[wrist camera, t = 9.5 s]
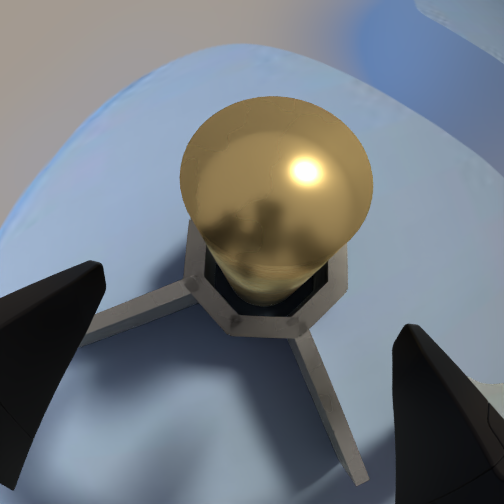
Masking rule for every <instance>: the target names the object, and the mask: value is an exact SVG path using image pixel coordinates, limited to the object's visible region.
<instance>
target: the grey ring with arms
mask: <svg viewBox="0 0 504 504" xmlns="http://www.w3.org/2000/svg"><path fill="white" fill-rule="evenodd" d="M190 219H191V218H190ZM215 272H216V260H215V258H214V257H213V255H212V253H211V252H210V250H209V248H208V246H207V245H206V243H205V241H204V240H203V238H202V236H201V234H200V233H199V231H198V229H197V227H196V226H195V224H194V222H193V220H192V219H191V220H189V226H188V235H187V245H186V255H185V266H184V277H183V279H182V280H179V281H177V282H174V283H172V284H169V285H167V286H164V287H162V288H159V289H157V290H155V291H152V292H150V293H147V294H145V295H142V296H140V297H137V298H135V299H132V300H130V301H127V302H125V303H122V304H120V305H117V306H115V307H112V308H110V309H107V310H105V311H102V312H100V313H97V314H95V315H94V317H93V320H92V322H91V324H90V326H89V328H88V330H87V332H86V334H85V336H84V338H83V340H82V342H81V343H80V345H79V347H82V346H85V345H88V344H91V343H94V342H96V341H99V340H102V339H105V338H107V337H110V336H113V335H115V334H118V333H121V332H124V331H126V330H129V329H132V328H134V327H137V326H140V325H142V324H145V323H148V322H150V321H153V320H156V319H158V318H161V317H163V316H166V315H169V314H171V313H174V312H176V311H179V310H182V309H184V308H187V307H189V306H192V305H194V304H197V303H200V304H201V305H202V307H203V308H204V309H205V310H206V311H207V312H208V313H209V315H210V316H211V317H212V318H213V319H214V320H215V321H216V323H217V324H218V325H219V326H220V327H221V328H222V329H223V330H224V331H225V333H226V334H227V335H229V334H230V336H241V337H263V338H287V340H288V342H289V344H290V347H291V349H292V351H293V354H294V356H295V358H296V361H297V363H298V366H299V368H300V370H301V373H302V375H303V377H304V380H305V382H306V384H307V387H308V389H309V391H310V394H311V396H312V399H313V401H314V403H315V406H316V408H317V410H318V413H319V415H320V417H321V420H322V422H323V424H324V427H325V429H326V432H327V434H328V436H329V439H330V441H331V443H332V446H333V448H334V450H335V453H336V455H337V457H338V460H339V461H340V463H341V464H342V466H343V467H344V469H345V470H346V472H347V473H348V475H349V476H350V478H351V479H352V481H353V482H354V484H355V485H356V486H358V485H360V484H362V483H364V482H366V481H368V480H370V479H369V476H368V474H367V471H366V469H365V466H364V464H363V461H362V458H361V456H360V453H359V451H358V448H357V446H356V443H355V441H354V438H353V435H352V433H351V430H350V428H349V425H348V423H347V420H346V418H345V415H344V413H343V410H342V408H341V406H340V403H339V401H338V398H337V396H336V393H335V391H334V388H333V386H332V383H331V381H330V379H329V376H328V374H327V371H326V369H325V366H324V364H323V362H322V359H321V357H320V354H319V352H318V350H317V347H316V345H315V343H314V340H313V338H312V335H311V333H310V331H309V329H310V328H311V327H312V326H313V325H314V324H315V323H316V322H317V321H318V320H319V319H320V318H321V317H322V316H323V315H324V314H325V313H326V312H327V311H328V310H329V309H330V308H331V307H332V306H333V305H334V304H335V303H336V302H337V301H338V300H339V299H340V298H341V297H342V296H343V295H344V294H345V293H346V292H347V291H346V290H347V289H348V265H347V243H346V244H345V245H344V246H343V247H342V248H341V249H340V250H339V251H338V252H337V253H336V254H335V255H334V256H332V257H331V258H330V259H329V260H328V261H327V262H326V263H325V264H324V265H323V266H322V267H321V268H320V269H319V270H318V271H316V272H315V273H314V274H313V292H312V293H311V294H310V295H309V296H308V297H307V298H305V299H304V300H303V301H302V302H301V303H300V304H299V305H298V306H297V307H296V308H295V309H294V310H293V311H292V312H291V313H290V314H289V315H288V316H286V317H268V316H245V315H239V314H238V313H237V312H236V311H235V309H234V308H233V307H232V306H231V305H230V304H229V303H228V302H227V301H226V299H225V298H224V297H223V296H222V295H221V294H220V293H219V292H218V290H217V289H216V288H215Z"/></svg>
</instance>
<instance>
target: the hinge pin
mask: <svg viewBox="0 0 504 504" xmlns="http://www.w3.org/2000/svg"><path fill="white" fill-rule="evenodd" d="M180 189H181V193H182V198H183V201H184V204H185V207H186V209H187V212H188V213H189V215H190V217H191V219H192V220H193V222H194V224H195V226H196V227H197V229H198V231H199V233H200V234H201V236H202V238H203V240H204V241H205V243H206V245H207V246H208V248H209V250H210V252H211V253H212V255H213V257H214V258H215V260H216V262H217V263H218V265H219V267H220V269H221V270H222V272H223V274H224V275H225V277H226V279H227V280H228V282H229V284H230V285H231V287H232V289H233V290H234V292H235V293H236V294H237V295H238V296H239V297H240V298H241V299H242V300H244V301H245V302H247V303H249V304H252V305H255V306H261V307H267V306H273V305H276V304H279V303H281V302H282V301H284V300H285V299H287V298H288V297H289V296H290V295H291V294H292V293H294V292H295V291H296V290H297V289H298V288H299V287H300V286H301V285H302V284H303V283H305V282H306V281H307V280H308V279H309V278H310V277H311V276H312V275H313V274H314V273H315V272H316V271H318V270H319V269H320V268H321V267H322V266H323V265H324V264H325V263H326V262H327V261H328V260H329V259H330V258H331V257H332V256H334V255H335V254H336V253H337V252H338V251H339V250H340V249H341V248H342V247H343V246H344V245H345V244H346V243H347V242H348V241H349V240H350V239H351V238H352V237H353V236H354V235H355V233H356V232H357V231H358V230H359V228H360V227H361V225H362V223H363V222H364V220H365V218H366V216H367V213H368V211H369V208H370V204H371V200H372V194H373V176H372V171H371V166H370V163H369V160H368V157H367V154H366V152H365V150H364V148H363V146H362V145H361V143H360V142H359V140H358V139H357V137H356V136H355V135H354V133H353V132H352V131H351V130H350V129H349V128H348V127H347V126H346V125H345V124H344V123H343V122H342V121H341V120H340V119H338V118H337V117H335V116H334V115H333V114H331V113H330V112H328V111H326V110H324V109H323V108H321V107H318V106H316V105H314V104H312V103H309V102H305V101H302V100H298V99H294V98H288V97H278V96H267V97H257V98H252V99H247V100H243V101H240V102H237V103H234V104H232V105H230V106H228V107H226V108H224V109H222V110H220V111H219V112H217V113H215V114H214V115H213V116H212V117H210V118H209V119H208V120H206V121H205V122H204V123H203V124H202V125H201V126H200V127H199V129H198V130H197V131H196V133H195V134H194V135H193V137H192V138H191V140H190V142H189V143H188V145H187V148H186V150H185V152H184V155H183V159H182V163H181V168H180Z"/></svg>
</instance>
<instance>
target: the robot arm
mask: <svg viewBox="0 0 504 504" xmlns="http://www.w3.org/2000/svg"><path fill="white" fill-rule="evenodd" d="M105 291H106V281H105V275H104V269H103V265H102V264H101V263H100V262H96V261H92V260H89V261H86V262H84V263H81V264H79V265H76V266H74V267H71V268H69V269H67V270H64V271H62V272H59V273H57V274H54V275H52V276H50V277H47V278H45V279H43V280H40V281H38V282H36V283H33V284H31V285H29V286H26V287H24V288H22V289H19V290H17V291H15V292H13V293H10V294H8V295H6V296H4V297H2V298H0V483H1V484H2V485H4V486H6V487H7V488H9V489H11V490H13V491H14V489H15V487H16V484H17V481H18V478H19V475H20V473H21V470H22V467H23V465H24V462H25V459H26V457H27V454H28V452H29V449H30V447H31V445H32V442H33V439H34V437H35V435H36V432H37V430H38V428H39V425H40V423H41V421H42V419H43V416H44V414H45V412H46V410H47V408H48V406H49V404H50V401H51V399H52V397H53V395H54V393H55V391H56V389H57V387H58V385H59V383H60V381H61V379H62V377H63V375H64V373H65V371H66V369H67V368H68V366H69V364H70V362H71V360H72V358H73V356H74V354H75V353H76V351H77V349H78V347H79V345H80V343H81V342H82V340H83V338H84V336H85V334H86V332H87V330H88V328H89V326H90V324H91V322H92V320H93V317H94V315H95V313H96V311H97V308H98V306H99V304H100V302H101V300H102V298H103V296H104V293H105ZM392 396H393V410H394V426H395V450H396V494H395V504H504V419H503V417H502V416H501V415H500V414H499V413H498V412H497V411H496V409H495V408H494V407H493V406H492V405H491V403H490V402H489V403H488V400H487V399H486V398H485V396H484V395H483V394H482V393H481V392H480V391H479V390H478V388H477V387H476V386H475V385H474V384H473V383H472V382H471V380H470V379H469V378H468V377H467V376H466V375H465V374H464V373H463V372H462V370H461V369H460V368H459V367H458V366H457V365H456V364H455V363H454V362H453V361H452V360H451V359H450V357H449V356H448V355H447V354H446V353H445V352H444V351H443V350H442V349H441V348H440V347H439V346H438V345H437V344H436V343H435V342H434V340H433V339H432V338H431V337H430V336H429V335H428V334H427V333H426V332H425V331H424V330H423V329H422V328H421V327H420V326H419V325H415V324H406V325H405V326H404V327H403V328H402V330H401V332H400V333H399V335H398V337H397V339H396V340H395V342H394V344H393V348H392Z"/></svg>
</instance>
